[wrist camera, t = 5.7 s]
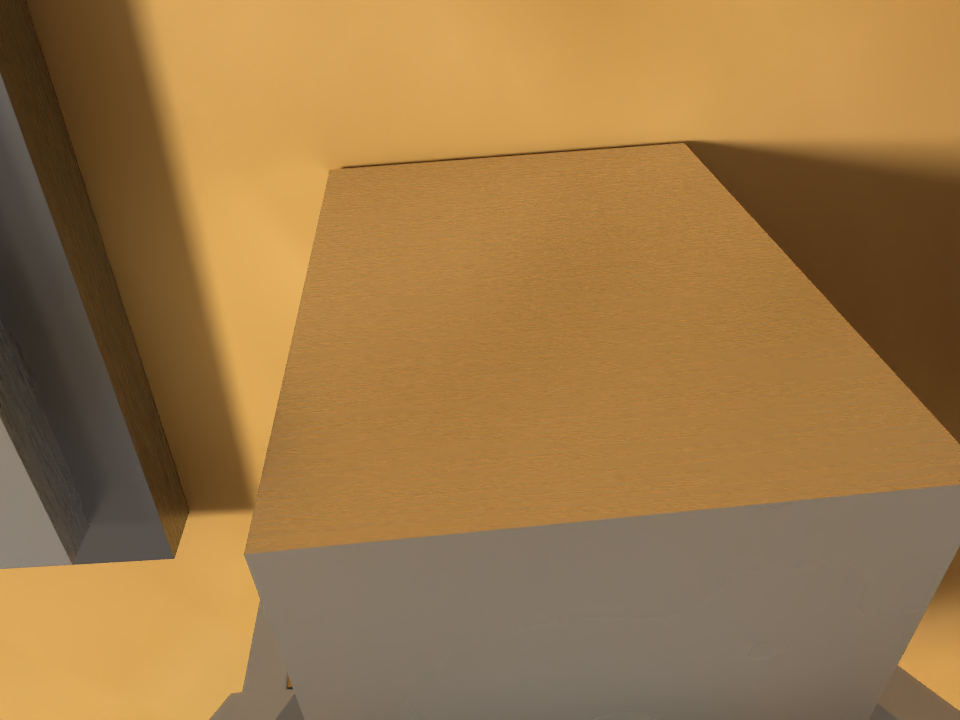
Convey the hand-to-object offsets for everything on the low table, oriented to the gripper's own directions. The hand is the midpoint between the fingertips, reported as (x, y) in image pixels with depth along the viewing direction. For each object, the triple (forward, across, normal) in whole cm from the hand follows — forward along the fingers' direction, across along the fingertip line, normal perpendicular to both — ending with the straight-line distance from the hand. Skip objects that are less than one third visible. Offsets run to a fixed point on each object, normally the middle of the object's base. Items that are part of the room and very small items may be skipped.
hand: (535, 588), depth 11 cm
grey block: (+2, 0, -1) cm, 2 cm away
